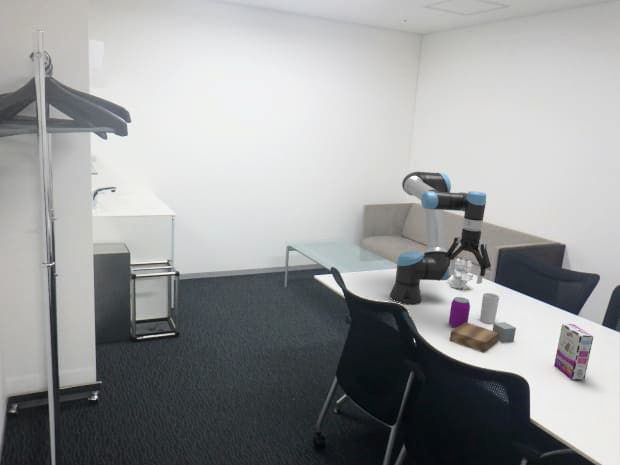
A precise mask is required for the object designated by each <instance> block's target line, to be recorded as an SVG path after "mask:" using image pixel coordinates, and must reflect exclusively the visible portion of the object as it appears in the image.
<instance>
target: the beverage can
mask: <svg viewBox="0 0 620 465" xmlns="http://www.w3.org/2000/svg"><path fill="white" fill-rule="evenodd" d="M470 309H471V304H470V300H469V299H468V298H466V297H462V296H456V297H454V298H453V299H452V301H451V304H450V311H449V318H448V324H449V325H450V327H451V328H453V327H454V328H453V329H455V328H457V327H458V326H460V325H462V324H464V323H465V322H467V323H469V316H470V311H471V310H470Z"/></svg>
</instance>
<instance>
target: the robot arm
mask: <svg viewBox="0 0 620 465" xmlns="http://www.w3.org/2000/svg"><path fill="white" fill-rule="evenodd" d="M401 185H402V190H403V191H404V192H405V193H406V194H408V195H409V196H413V197H415V198H417V199H418V200H419V201H421V202H420V203H421V206H422V208H424V209H425V216H426V217H425V218H426V223H425V224H426V226H425V227H426V250H425V251H424V253H422V252H421V251H413V250H411V251H405V252H401V253H400V254H398V258H397V262H396V270H395V271H396V274H395V281H394V284H393V286H392V289H391V291H390V293H389V298H390V297H391V298H392V299H393V300H395V301H398V302H397V303H398V304H404V305H410V304H411V305H418V304H421V303H422V298H423V296H422V294H421V287H420V284H421V281H422V280H423V281H438V282H440V281H448V280H449V279H450V278H451V276H453V275H452V274H454V268H455V263H456V260H457V259H456V257H457V256H459V255H460V254H461V253H462V252H463V251H465V252H469V253H472V255H474V258H475V259H476V261H477V262H478V266H479V268H478V273H477V277H476V278H477V279H476V284H477V285H479V284H482V282H483V277H485V276H486V271H487V270H486V269H489V268H491V267H492V265H491V262H490V257H489V254H488V250H487V243H481V242H480V240H481V235H482V231H481V230H482V229H483V224H484V217H485V211H486V210H485V209H486V205H487V193H486V192H483V191H478V190H477V191H476V190H475V191H474V190H470V191H467V192H463V191H462V192H451V189H452V183H451V180H450V177H449V176H448V175H447V174H445V173H442V172H429V171H428V172H426V171H413V172H409V174H406V176H405V177H404V178H403V180H402V182H401ZM445 211H453V212H454V211H456V212H457V211H458V212H464V215H463V223H462V229H461V237H459V236H457V237H454V239H453V241H452V244H451V246H450V247H449V248H448V249H446V238H445V237H446V236H445V234H446V232H445ZM459 244H460V246H459ZM456 248H457V249H456ZM393 300H392V301H393ZM395 301H394V302H395ZM399 302H401V303H399Z"/></svg>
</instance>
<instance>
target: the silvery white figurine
mask: <svg viewBox="0 0 620 465" xmlns="http://www.w3.org/2000/svg"><path fill="white" fill-rule="evenodd" d="M455 260H456V261H455V268H454V274H452V275H451V276H452V279H450V280H449V279H448V280H447V283H448V284H449V285H450V287H453V288H454V289H459V290H460V289H461V290H469V286H467V284H468V282H470V281H473V278H474V274H472V273H471V274H470V273H469V272H471V271H472V268H473V266H474V264H473V263H472V261H471V260H466V259H465V258H462V259H461V258H459V257H458V258H456V259H455Z"/></svg>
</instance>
